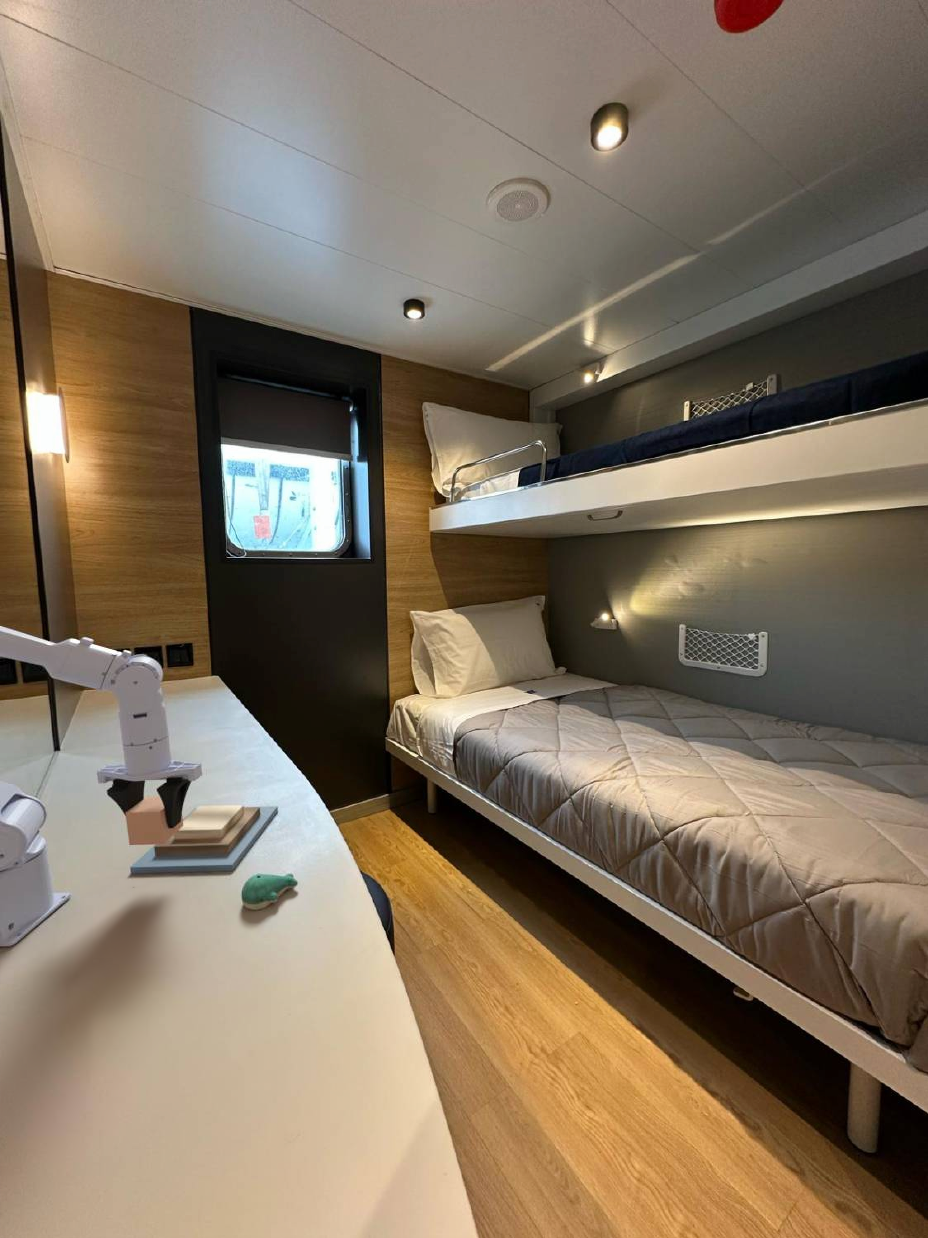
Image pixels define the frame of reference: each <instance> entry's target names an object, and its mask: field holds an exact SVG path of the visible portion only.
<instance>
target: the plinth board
mask: <svg viewBox="0 0 928 1238" xmlns="http://www.w3.org/2000/svg"><path fill="white" fill-rule="evenodd" d="M278 807H279V806H278V805H275V806H274V805H272V806H245V805H244V804H235V805H234V804H233V805H229V804H228V805H200V806H198V807H197V808H194V809H193V810H191V811H190V812H189V813H188V814H187V815H186V816H185V817H184V818H183V827H181V828H180V829H179V830H178V831H177V832H176V833H175V834H174V835H173V836H172V837H171V838H169V839H168V840H167V841H166V842H165V843H164V844H154V845H153V846H151V848H149V850H147V851H146V853H144V854H143V855H142V856H141V857H140V858H139V859H137V860H136V862H134V863H133V864H132V865H131V866H130V874H148V873H149V874H153V873H155V874H158V873H159V874H161V873H162V874H163V873H188V872H189V873H191V872H192V873H193V872H231V871H232V872H233V871H234V870H235V868H236V867H237V866H238V865H239V864H240V862H241V861H242V860H243V858H244V857H245V855H246V854H247V853H248V851H249V850H250V849H251V847H252V846H253V844H254V843H255V842H256V841H257V840H258V838H259V837H260V836H261V834H262V833H263V831H264V830H265V829H266V828H267V827H268V825H269V824H270V823H271V821H272V820H273V819H274V818H275V816H276V814H277V813H278V812H279V808H278Z"/></svg>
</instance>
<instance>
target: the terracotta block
mask: <svg viewBox="0 0 928 1238" xmlns="http://www.w3.org/2000/svg"><path fill="white" fill-rule="evenodd" d="M125 814H126V816H125V821H126V827H127V828H126V829H127V836H128V843H129V844H128V845H129V846H143V845H145V846H147V845H153V846H154V845H155V844H164V843H165V842H166V841H167V840H168V839H169V838H171V837H172V836H173V835H174V834H175V833H176V832H177V831H178V830H179V829H180V828H181V827H183V819H184V818H183V814H182V815H181V822H180V823H179V824H177V825H176V826H175V827H174V828H168V825H167V822H166V815H165V809H164V805H163V802H162V800H161V798H160V796H159V795H150V796H149V795H147V797H144V800H142V801H141V802H139V803H138V804H137V805H135V806H134V807H133V808H131V809H130V810H129V811H127V812H126V813H125Z"/></svg>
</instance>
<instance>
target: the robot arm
mask: <svg viewBox="0 0 928 1238" xmlns="http://www.w3.org/2000/svg"><path fill="white" fill-rule="evenodd" d="M94 641H95V640H94V639H92V638H89V637H85V636H84V637H82V638H80V639H76V638H68V639H65V640H63V641H60V642H58V643H55V642H52V641H48V640H46V639H43V638H39V637H36V636H33V635H30V634H28V633H24V632H21V631H18V630H15V629H11V628H8V627H6V626H1V625H0V657H2V658H7V659H9V660H10V659H11V660H15V661H16V660H17V661H20V662H24V663H28V664H34V665H38V666H42V667H43V668H45V670H46V671H47V673H48V675H49V676H50V677H51V678H52V679H55V680H60V681H63V682H67V683H71V684H75V685H79V686H81V687H82V686H83V687H86V688H91V689H94V690H98V691H103V692H107V691H108V692H109V691H111V693H112V694H113V695H114V696H115V698H117V701H118V707H119V712H118V719H119V726H120V734H121V743H122V750H123V756H124V757H123V759H124V764H123V763H122V764H114V765H113V764H112V765H105V766H103V767H102V768H100V769H99V770H97V771H96V775H97V783H98V784H99V785H100V784H107V783H108V782H112V784H111V787H109V788H108V789H107V790H106V794H107V797H109V798H110V799H112V800H113V801H114V802H115V803H116V804H117V806H118V807H119V808H120V810H121V811H122V813H123V814H124V816H125V817H126V814H125V813H126V812H127V811H129V810H130V809H131V808H133V807H134V806H135V805H137V804H138V803H139V802H141V801H142V800H144V799H145V796H144V795H145V785H146V784H145V783H146V781H163V780H164V781H165V782H164V783H163V784H161V785H160V786H158V787H157V788H156V792H157V794H158V796H160V798H161V800H162V802H163V805H164V809H165V815H166V822H167V825H168V828H174V827H175V826H176V825H177V824H179V823H180V822H181V815H182V816H183V810H184V809H183V808H184V802H185V799H186V796H187V793H188V791H189V788H190V785H191V783H192V782H195V781H197V780H198V779H199V778H201V777H202V776H203V767H202V762H188V761H181V760H176V759H173V758H172V755H171V754H172V753H171V745H170V737H169V736H170V735H169V728H168V727H169V726H168V720H167V719H168V718H167V709H166V704H165V703H164V694H163V691H162V681H163V678H164V671H163V668H162V665H161V664H160V663H159V662H158V661H157V660H155V659H154V658H152V657H150V656H148V655H147V654H135V655H133V654H132V651H130V650H126V649H124V650H123V651H122V652H121V651H117V650H115V649H110V648H107V647H104V646H100V645H98V644H97V645H96V644H93V643H94ZM47 818H48V809H47V806H46V805H45V803H44V802H43V801H42V800H40V799H39V798H37V797H35V796H32V795H29V794H26V793H25V792H23V791H22V790H21V789H20V788H19V786H17V785H16V784H13V783H8V782H4V781H1V780H0V947H11V946H14V945H15V944H17V943H18V942H19V941H20V940H21V939H23V938H24V937H25V936H26V935H27V934H29V932H31V931H32V930H33V929H34V928H35V927H37V926H38V925H39V924H40V923H41V922H42V921H44V920H45V919H46V918H48V916H50V915H51V914H52V913H53V912H54V911H55V910H57V909H58V908H59V907H60V906H62V905H63V903H65V902H66V901H67V900H69V899H70V898H71V897H72V893H71V892H54V888H53V887H54V886H53V881H52V874H51V867H50V861H49V854H48V847H47V841H46V840H45V838H44V837H43V836H42V834H41V832H40V829H41V828H42V827H43V826H44V824H46V823H45V822H46V820H47Z"/></svg>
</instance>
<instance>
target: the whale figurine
mask: <svg viewBox="0 0 928 1238" xmlns="http://www.w3.org/2000/svg"><path fill="white" fill-rule="evenodd" d="M298 885H299V884H298V881H297V880H296V879H295V878H294V874H292V873H287V874H285V875H284V876H282V875H277V874H269V873H268V874H266V873H257V874H254V875H252V876H250V877H249V878H248V879H247V880H246V882H245V883H244V884H243V886H242V889H241V901H242V904H243V906H244V907H245V908H246V909H249V910H254V911H259V910H263V909H265V908H267V907H268V906H270V905H271V904H272V903H273V904H274V903H277V902H278V900H279V897H280V896H281V895H282V894H284V893H285V892H286V891H287V890H288V889H294V888H296V887H297V886H298Z"/></svg>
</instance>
